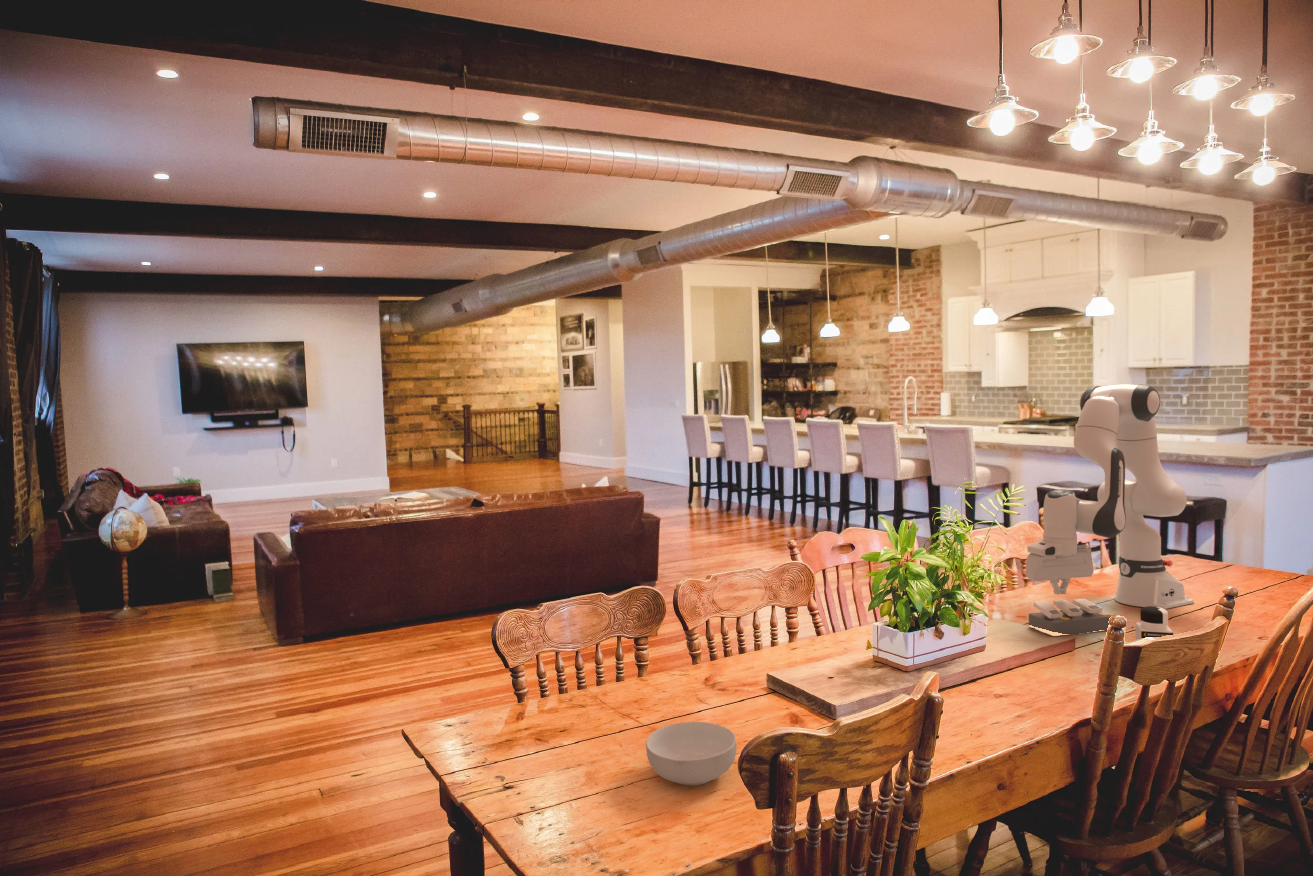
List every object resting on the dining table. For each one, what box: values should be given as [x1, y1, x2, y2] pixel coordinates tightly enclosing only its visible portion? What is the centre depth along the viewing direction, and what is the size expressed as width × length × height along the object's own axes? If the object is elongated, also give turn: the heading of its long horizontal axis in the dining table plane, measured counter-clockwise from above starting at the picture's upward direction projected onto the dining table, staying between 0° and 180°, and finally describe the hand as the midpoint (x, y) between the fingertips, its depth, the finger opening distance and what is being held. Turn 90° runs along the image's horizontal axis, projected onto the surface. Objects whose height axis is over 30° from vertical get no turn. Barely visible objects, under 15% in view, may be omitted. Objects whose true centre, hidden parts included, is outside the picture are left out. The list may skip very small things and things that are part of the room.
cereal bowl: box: [645, 721, 737, 787], centre depth 151 cm, size 17×17×7 cm
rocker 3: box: [1071, 597, 1103, 613], centre depth 234 cm, size 4×7×1 cm, turn 13°
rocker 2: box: [1052, 598, 1083, 616], centre depth 232 cm, size 4×7×1 cm, turn 13°
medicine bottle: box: [1135, 606, 1174, 641], centre depth 209 cm, size 7×7×12 cm
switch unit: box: [1028, 607, 1113, 635], centre depth 233 cm, size 20×10×5 cm, turn 103°
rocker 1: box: [1033, 600, 1063, 619], centre depth 231 cm, size 4×7×1 cm, turn 13°
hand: (1059, 593), depth 235 cm, fingers closed
